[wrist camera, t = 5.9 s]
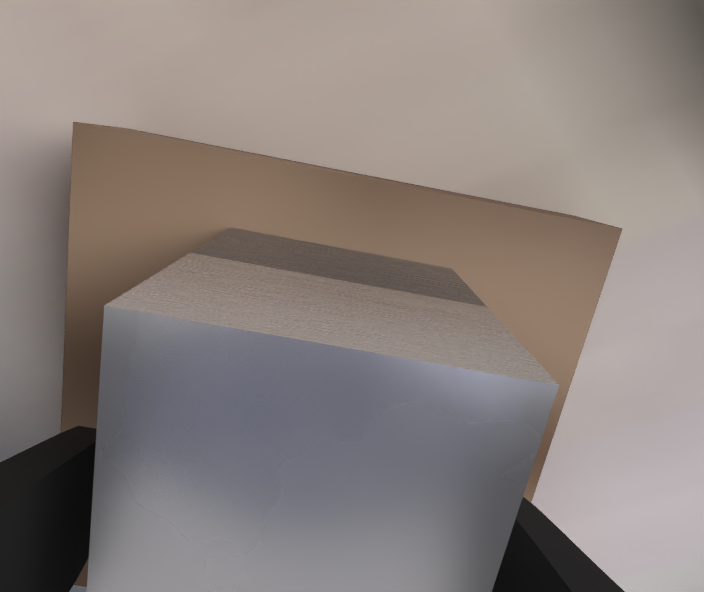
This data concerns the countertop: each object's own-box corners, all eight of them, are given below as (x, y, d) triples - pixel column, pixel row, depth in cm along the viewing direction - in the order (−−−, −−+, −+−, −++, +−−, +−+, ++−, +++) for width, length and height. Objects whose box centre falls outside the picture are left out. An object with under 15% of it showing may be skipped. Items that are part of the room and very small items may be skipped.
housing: (380, 556, 13) (405, 856, 8) (193, 527, 13) (72, 817, 7) (452, 268, 11) (559, 385, 6) (231, 227, 11) (104, 305, 5)
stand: (464, 573, 17) (484, 643, 14) (98, 518, 16) (54, 582, 14) (573, 215, 14) (622, 228, 11) (124, 128, 13) (73, 121, 10)
